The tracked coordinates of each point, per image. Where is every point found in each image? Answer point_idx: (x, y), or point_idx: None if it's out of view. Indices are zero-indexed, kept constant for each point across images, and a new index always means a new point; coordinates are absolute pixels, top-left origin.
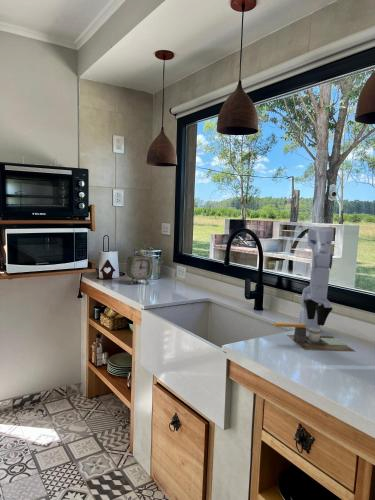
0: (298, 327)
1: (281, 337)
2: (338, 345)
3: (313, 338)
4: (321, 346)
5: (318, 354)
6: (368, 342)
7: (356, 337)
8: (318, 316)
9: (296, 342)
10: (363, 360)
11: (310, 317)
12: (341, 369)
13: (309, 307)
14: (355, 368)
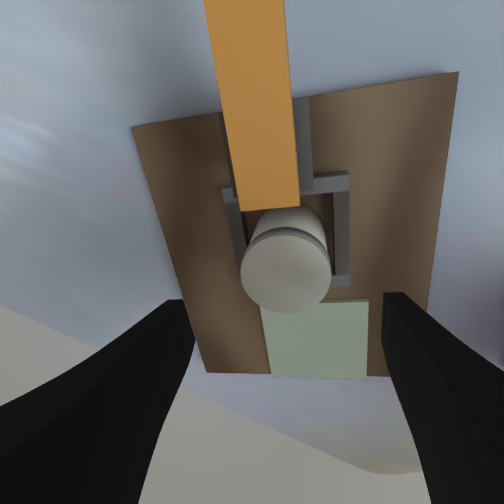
0: None
1: (448, 18)
2: (266, 341)
3: (253, 233)
4: (227, 253)
5: (145, 200)
6: (365, 466)
7: None
8: (98, 355)
9: None
10: None
11: (386, 323)
12: (5, 233)
13: (450, 426)
14: (48, 291)
